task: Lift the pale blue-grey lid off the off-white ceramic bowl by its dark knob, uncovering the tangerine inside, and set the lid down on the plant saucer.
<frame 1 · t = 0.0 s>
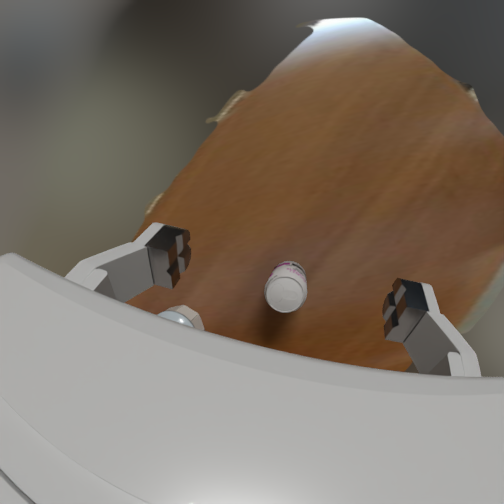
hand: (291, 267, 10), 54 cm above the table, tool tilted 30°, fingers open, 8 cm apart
bowl: (183, 325, 72), on the table
lid: (174, 334, 66), point 6 cm above the table, touching bowl
supplement can: (288, 277, 65), on the table
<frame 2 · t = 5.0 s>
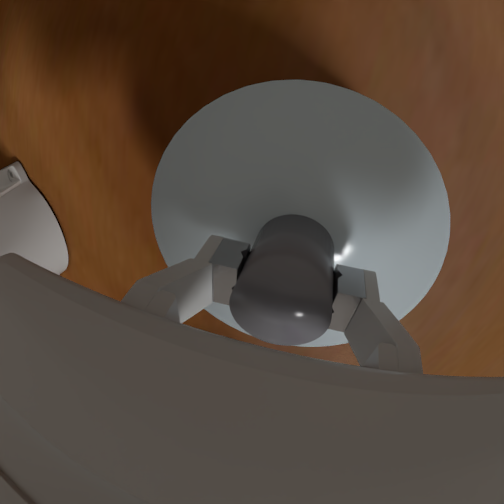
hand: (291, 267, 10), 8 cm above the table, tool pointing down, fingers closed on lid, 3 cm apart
lid: (297, 236, 12), point 6 cm above the table, touching bowl, gripper
when the fingers open (7 cm above the table, at t = 12.2 s): lid drops 3 cm, resting on plant saucer.
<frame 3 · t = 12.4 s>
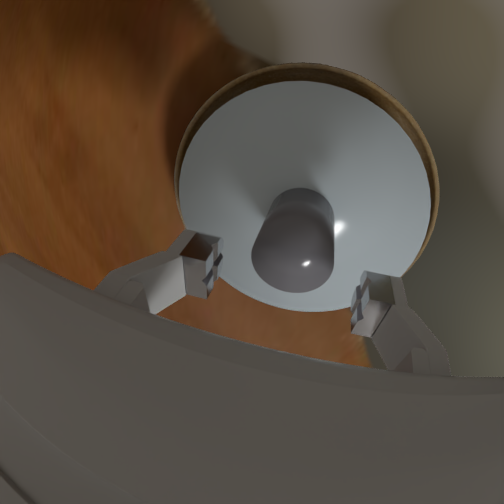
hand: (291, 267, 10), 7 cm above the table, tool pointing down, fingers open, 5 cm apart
plant saucer: (308, 188, 16), on the table, touching lid
lid: (303, 209, 14), point 2 cm above the table, touching plant saucer
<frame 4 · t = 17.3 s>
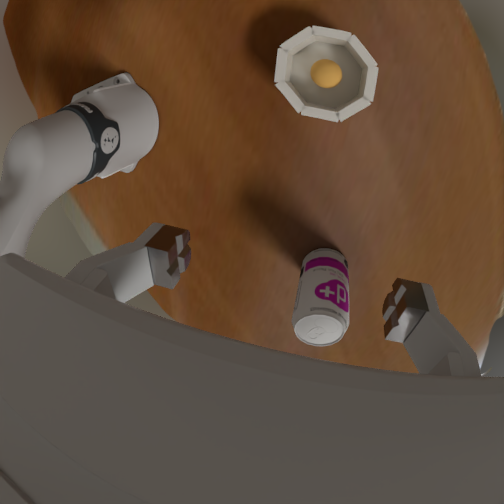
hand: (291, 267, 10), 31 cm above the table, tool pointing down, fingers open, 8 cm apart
bowl: (326, 74, 30), on the table
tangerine: (326, 73, 27), point 3 cm above the table, touching bowl
supplement can: (325, 264, 48), on the table
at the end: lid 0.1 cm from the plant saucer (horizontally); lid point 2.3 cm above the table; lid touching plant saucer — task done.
